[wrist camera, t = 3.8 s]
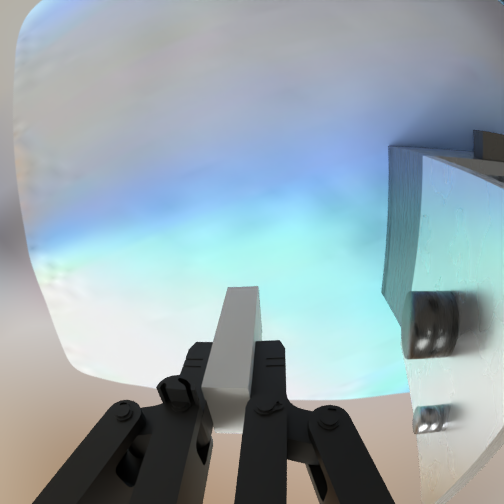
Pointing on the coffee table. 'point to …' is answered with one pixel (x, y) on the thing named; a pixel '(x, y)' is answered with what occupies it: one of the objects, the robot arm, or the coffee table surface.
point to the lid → (456, 327)
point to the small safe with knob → (409, 205)
